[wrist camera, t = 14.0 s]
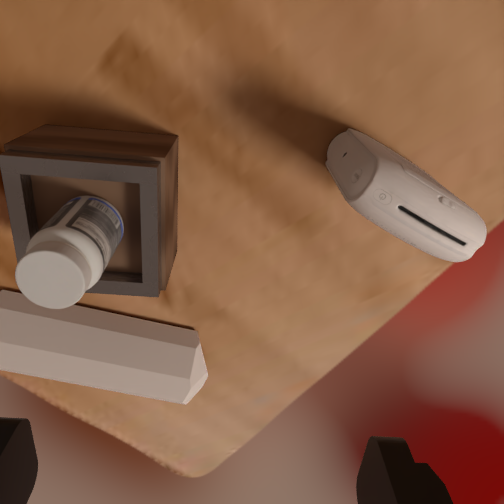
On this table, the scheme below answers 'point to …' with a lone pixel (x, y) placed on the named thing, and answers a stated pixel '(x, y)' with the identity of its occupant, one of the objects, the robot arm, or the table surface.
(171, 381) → the crystal
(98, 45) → the table surface
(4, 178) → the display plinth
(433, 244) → the photo printer
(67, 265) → the pill bottle
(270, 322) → the table surface
